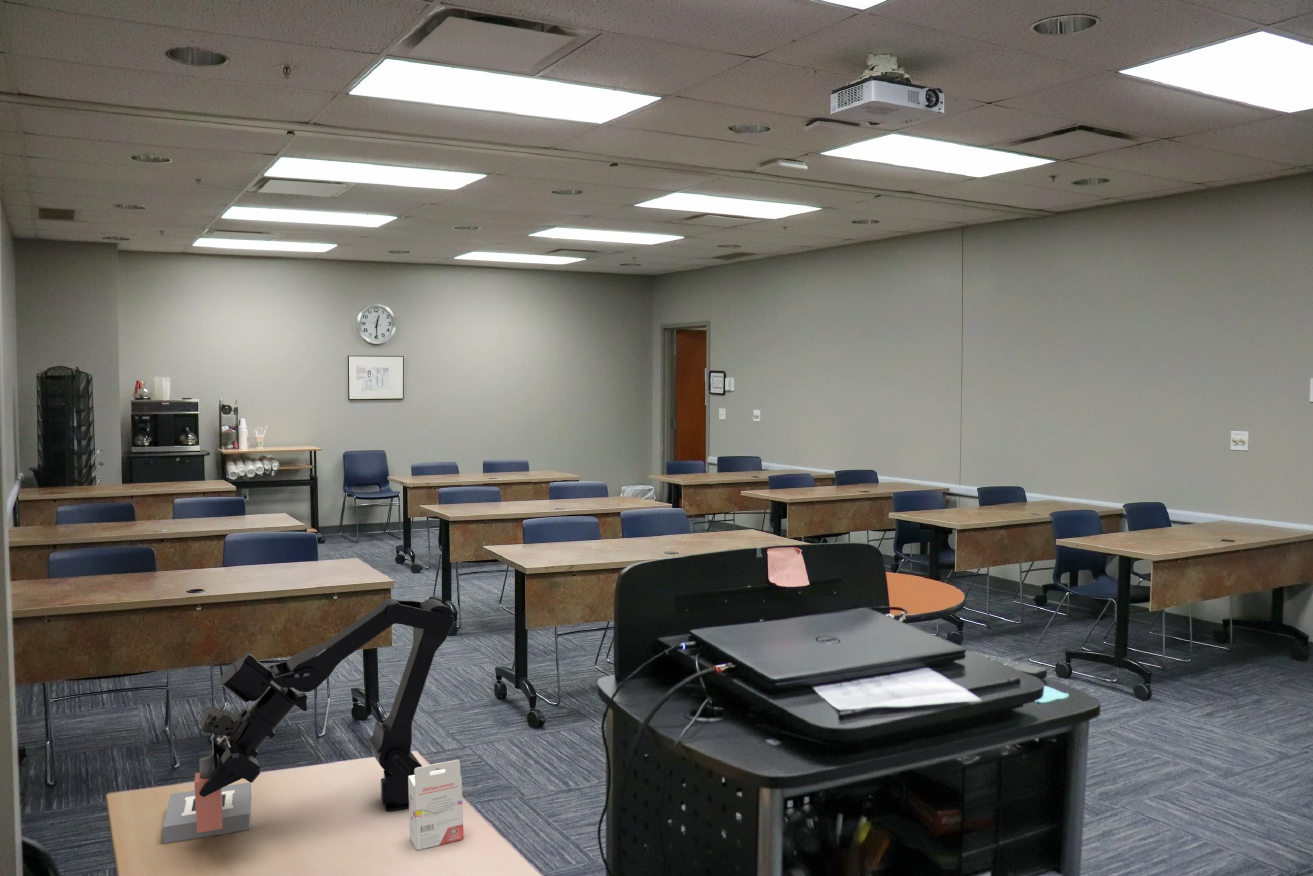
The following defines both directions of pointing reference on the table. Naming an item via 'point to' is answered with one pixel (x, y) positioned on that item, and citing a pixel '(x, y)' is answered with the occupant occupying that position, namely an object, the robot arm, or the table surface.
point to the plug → (207, 799)
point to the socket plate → (183, 814)
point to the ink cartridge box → (435, 805)
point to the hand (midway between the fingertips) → (199, 790)
